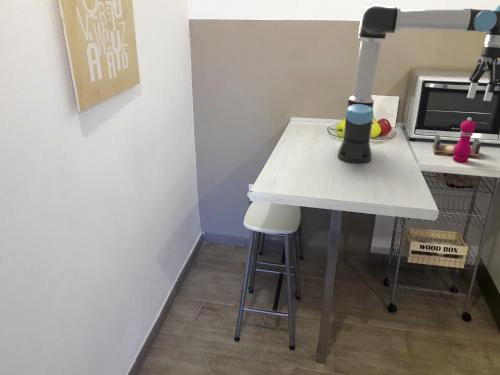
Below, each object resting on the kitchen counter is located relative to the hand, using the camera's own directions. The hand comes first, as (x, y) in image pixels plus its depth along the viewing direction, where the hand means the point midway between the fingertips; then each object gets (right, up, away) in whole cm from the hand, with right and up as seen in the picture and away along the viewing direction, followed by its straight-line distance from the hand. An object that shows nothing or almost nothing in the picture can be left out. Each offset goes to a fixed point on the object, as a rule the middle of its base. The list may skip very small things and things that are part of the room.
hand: (478, 99), depth 172 cm
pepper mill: (-2, -25, +12) cm, 28 cm away
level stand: (+1, -21, +21) cm, 30 cm away
